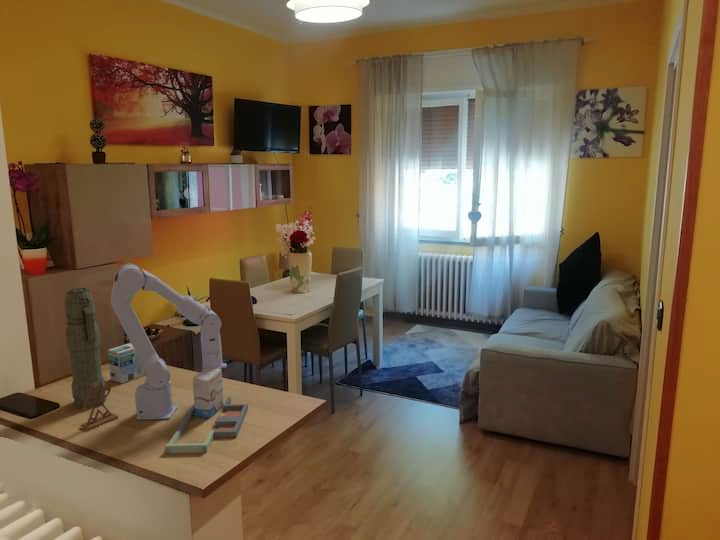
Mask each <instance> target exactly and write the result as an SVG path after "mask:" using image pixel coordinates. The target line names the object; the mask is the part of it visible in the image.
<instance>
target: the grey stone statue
mask: <svg viewBox="0 0 720 540" xmlns="http://www.w3.org/2000/svg"><path fill="white" fill-rule="evenodd" d="M64 309H65V318H66V319H67V321H66V325H67V326H66V329H65V339H66V347H67V350H68V352H69V356H70V365H71V374H72V382H71V394H72V398H73V401H74V402H73V403H74V407H75V408H77V407H78V409H83V404H84V402H85V400H86V399H87V398H88V397H89V396H92V394H91V393H90V391H89V389H90V386H91V385H92V384H93V383H94V382H100V383H102V385H103V387H104V386H105V385H106V381H105V377H104V375H103V373H102V369H103V368H102V363H101V361H102V360H101V353H100V347H101V336H100V327H99V325H98V323H97V319H96V318H95V317H96V316H95V315H96V309H95V300H94V296H93V293H92V292H91V290H90V289H88V288H85V287H84V288H79V287H78V288H74V289H73V288H72V289H69V291H66V294H65V298H64ZM97 386H100V384H99V383H96V384H95V385H93V387H97ZM93 387H92V388H93ZM99 389H101V387H100V388H99ZM92 391H94V392H96V391H98V388H96V390H92ZM102 391H103V390H102ZM106 391H107V390H106ZM106 391H105V392H104V393H102V394H100V395H101V397H98V398H99V400H98V402H99V404H102V402H101V398H102V397H104V396H105V395H106V393H107V392H106ZM92 393H93V392H92ZM93 394H96V393H93ZM97 395H98V393H97ZM92 401H93V402H94V407H95V406H97V404H96V403H97V400H96V399H95V398H94V397H91V398H90V399H89V400H88V401H87V402H86V404H89V403H90V402H92ZM103 401H104V403H105V402H106V401H107V397H106V398H104V399H103ZM88 408H89V407H88V406H87V407H85V409H88ZM91 408H92V404H91Z"/></svg>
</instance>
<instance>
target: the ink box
mask: <svg viewBox="0 0 720 540" xmlns="http://www.w3.org/2000/svg"><path fill="white" fill-rule="evenodd" d="M222 369H223V368H221V369H217V370H216V369H215V368H206V369H204V370H203V369H202V371H200V372H199V373H197V375H195V376H193V378H192V388H193V391H192V392H193V404H194V406H195V413H194V416H195V417H197V418H203V419H204V418H206V419H211V418H213V416H214V415H215V414H216V413H217V412H218V411H219V410H221V408H223V405H224V403H225V401H224V390H223V389H224V388H223V387H224V386H223V374H222ZM214 370H215V371H214ZM212 371H214V372H212ZM204 372H205V374H207V373H208V372H209V373H208V374H210V373H211V372H212V373H211V375H204Z"/></svg>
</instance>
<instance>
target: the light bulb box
mask: <svg viewBox="0 0 720 540" xmlns="http://www.w3.org/2000/svg"><path fill="white" fill-rule="evenodd" d="M107 358H108V366H109V368H108V369H109V378H110V381H114V382H116V383H119V384H124V383H127V382H130V381H133V380H137V379H138V378H141V377H143V376H145V373H144V371H143V365H142V363H141V361H140V359H139V357H138V355H137V353H136V351H135V349H134V347H133V346H132V344H131V342H129V343H126V344H123V345H120V346H115V347H113V348H109V349H107Z"/></svg>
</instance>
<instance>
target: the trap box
mask: <svg viewBox="0 0 720 540" xmlns="http://www.w3.org/2000/svg"><path fill="white" fill-rule="evenodd" d="M222 409H223V411H225V413H224V415H223V416H217V417H216V418H215V421H214V426H215V428H217V429H216V430H213V429H211V430H210V431H209V432H208V435H207V437H206V438H205V440H204V442H196V443H195V442H191V443H187V442H185V443H177V442H178V441H179V440H180V438H181V436H182V435H183V433H184V431H185V429H186V428H187V426H188V425H189V423H190V422H191V420H192V419H193V417H194V416H195V406H194V403H193V404H192V406H191V407H190V409H189V410H188V412H187V414H186V415H185V417H184V419H183V420H182V422H181V423H180V425H179V426H178V427H177V429H176V431H175V432H174V434H173V436H172V437H171V438H170V440H169V441H168V443H166V444H165V454H190V453H191V454H193V453H195V454H196V453H197V454H200V453H201V454H202V453H207V452H208V450H209V448H210V446H211V443H213V440H214V438H215V439H216V438H237V437H238V436H239V435H238V434H239V432H240V430H241V427H242V425H243V423H244V420H245V417H246V415H247V413H248V410H249V404H248V403H232V397H231V396H227V397H226V400H225V401H224V405H223V406H222Z"/></svg>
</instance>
